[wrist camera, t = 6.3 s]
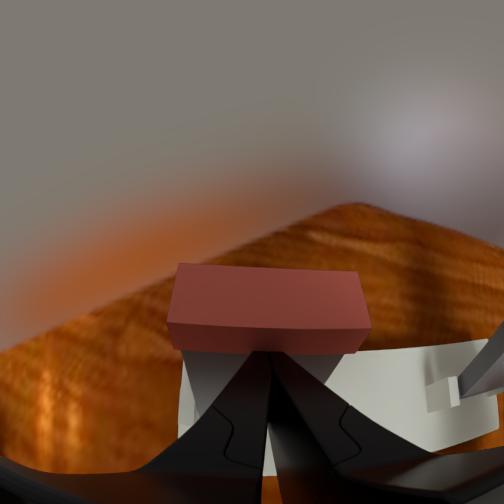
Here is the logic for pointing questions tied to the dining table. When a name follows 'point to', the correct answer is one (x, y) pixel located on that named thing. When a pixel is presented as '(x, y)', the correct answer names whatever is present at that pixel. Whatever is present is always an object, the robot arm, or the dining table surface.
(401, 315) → the dining table surface
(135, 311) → the dining table surface
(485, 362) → the grey lever
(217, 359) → the red-capped switch paddle
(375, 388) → the switch console
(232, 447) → the robot arm
